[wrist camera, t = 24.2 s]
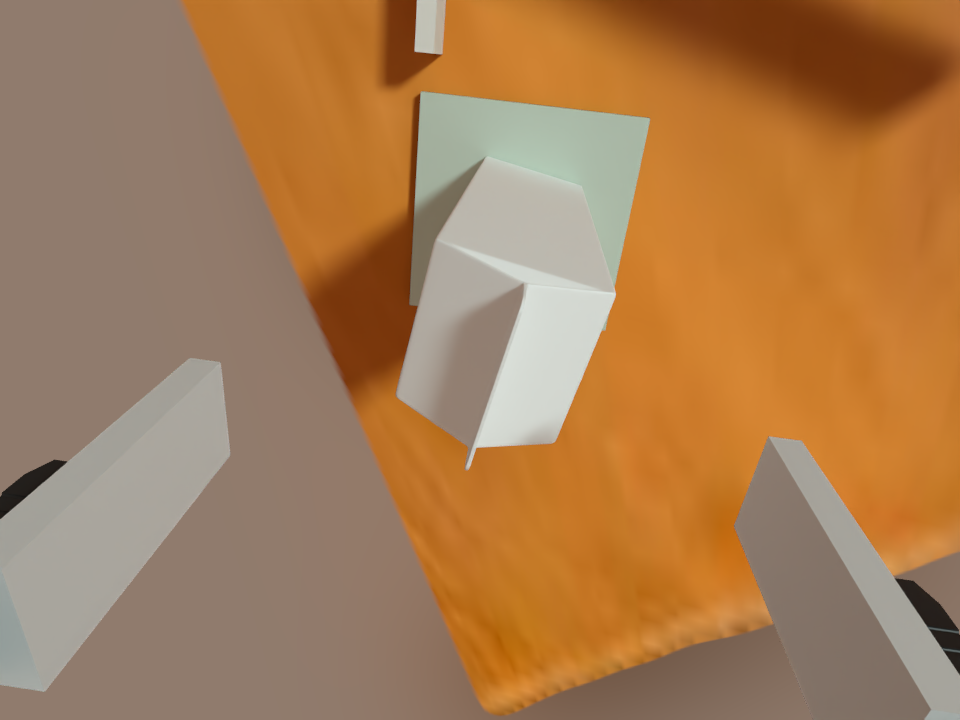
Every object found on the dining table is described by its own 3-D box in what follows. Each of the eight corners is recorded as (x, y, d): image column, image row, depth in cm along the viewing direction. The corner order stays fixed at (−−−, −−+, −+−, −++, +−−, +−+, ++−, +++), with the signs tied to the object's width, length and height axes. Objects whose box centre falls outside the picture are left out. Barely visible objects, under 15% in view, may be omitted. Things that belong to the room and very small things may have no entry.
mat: (422, 91, 35) (420, 91, 34) (648, 117, 34) (650, 118, 34) (411, 301, 41) (409, 304, 40) (604, 327, 40) (605, 330, 40)
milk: (460, 249, 38) (365, 449, 18) (486, 153, 35) (408, 267, 16) (551, 277, 38) (555, 505, 19) (585, 184, 36) (630, 334, 16)
